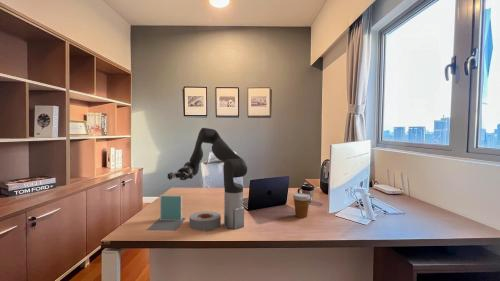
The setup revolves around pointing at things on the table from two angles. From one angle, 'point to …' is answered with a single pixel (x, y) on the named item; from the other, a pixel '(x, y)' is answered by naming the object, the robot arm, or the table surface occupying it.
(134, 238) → the table surface
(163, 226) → the mat
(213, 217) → the tape roll
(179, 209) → the tile
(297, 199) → the disposable coffee cup
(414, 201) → the table surface
